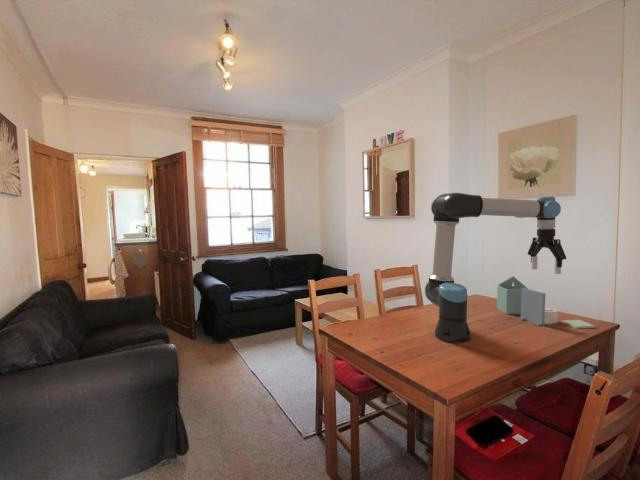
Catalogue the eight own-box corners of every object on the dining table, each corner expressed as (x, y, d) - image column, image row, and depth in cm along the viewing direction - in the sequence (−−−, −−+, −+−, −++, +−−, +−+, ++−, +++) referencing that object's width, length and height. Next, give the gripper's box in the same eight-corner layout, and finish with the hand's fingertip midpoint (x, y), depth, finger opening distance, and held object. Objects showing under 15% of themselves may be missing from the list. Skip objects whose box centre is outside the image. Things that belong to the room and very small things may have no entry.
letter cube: (548, 324, 169) (548, 311, 169) (537, 320, 175) (537, 308, 174) (557, 322, 171) (558, 310, 171) (546, 319, 177) (546, 307, 176)
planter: (491, 311, 193) (491, 276, 191) (497, 308, 198) (497, 274, 196) (523, 317, 180) (524, 280, 179) (528, 314, 185) (529, 278, 184)
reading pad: (576, 328, 162) (576, 326, 162) (561, 322, 171) (562, 320, 171) (594, 327, 163) (594, 325, 163) (579, 321, 172) (579, 319, 172)
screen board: (546, 325, 168) (548, 292, 166) (539, 326, 166) (540, 293, 165) (525, 318, 179) (526, 287, 178) (517, 319, 178) (518, 288, 176)
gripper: (576, 229, 156) (575, 275, 158) (532, 227, 181) (531, 267, 182) (562, 230, 155) (561, 276, 157) (519, 227, 179) (519, 268, 181)
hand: (545, 271), depth 170 cm, fingers open, 13 cm apart
